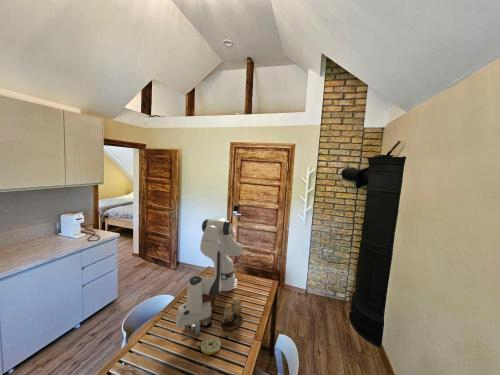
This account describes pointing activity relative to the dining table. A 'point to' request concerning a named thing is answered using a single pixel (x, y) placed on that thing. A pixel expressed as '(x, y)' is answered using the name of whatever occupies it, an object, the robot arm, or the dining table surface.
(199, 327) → the lever handle with knob
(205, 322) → the tan boxy piece
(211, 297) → the wooden figurine
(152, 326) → the dining table surface
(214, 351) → the decorated donut
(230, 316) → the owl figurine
